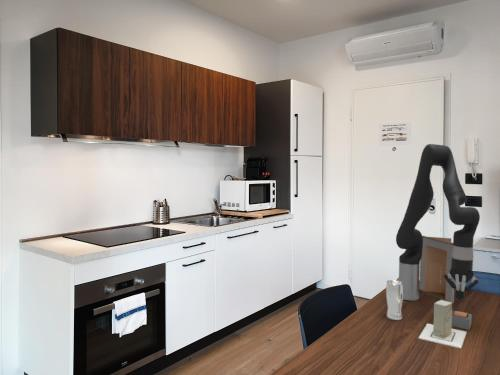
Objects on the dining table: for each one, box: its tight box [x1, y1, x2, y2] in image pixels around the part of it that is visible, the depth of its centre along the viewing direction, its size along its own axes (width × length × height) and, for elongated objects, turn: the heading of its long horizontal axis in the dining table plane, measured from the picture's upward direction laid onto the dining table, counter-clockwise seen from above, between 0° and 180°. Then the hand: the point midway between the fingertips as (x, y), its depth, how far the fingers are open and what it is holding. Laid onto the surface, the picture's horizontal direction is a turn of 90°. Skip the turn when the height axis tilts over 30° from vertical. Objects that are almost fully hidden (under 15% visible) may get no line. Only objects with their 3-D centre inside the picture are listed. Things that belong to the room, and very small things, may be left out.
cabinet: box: [419, 235, 456, 305], centre depth 195 cm, size 21×10×28 cm, turn 17°
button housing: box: [452, 310, 473, 331], centre depth 160 cm, size 7×7×4 cm
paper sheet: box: [418, 323, 467, 350], centre depth 150 cm, size 14×16×1 cm
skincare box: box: [433, 299, 453, 338], centre depth 150 cm, size 6×4×12 cm
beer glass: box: [385, 279, 404, 321], centre depth 168 cm, size 7×7×15 cm
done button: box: [454, 310, 468, 318], centre depth 160 cm, size 4×4×2 cm
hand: (460, 299), depth 160 cm, fingers closed
